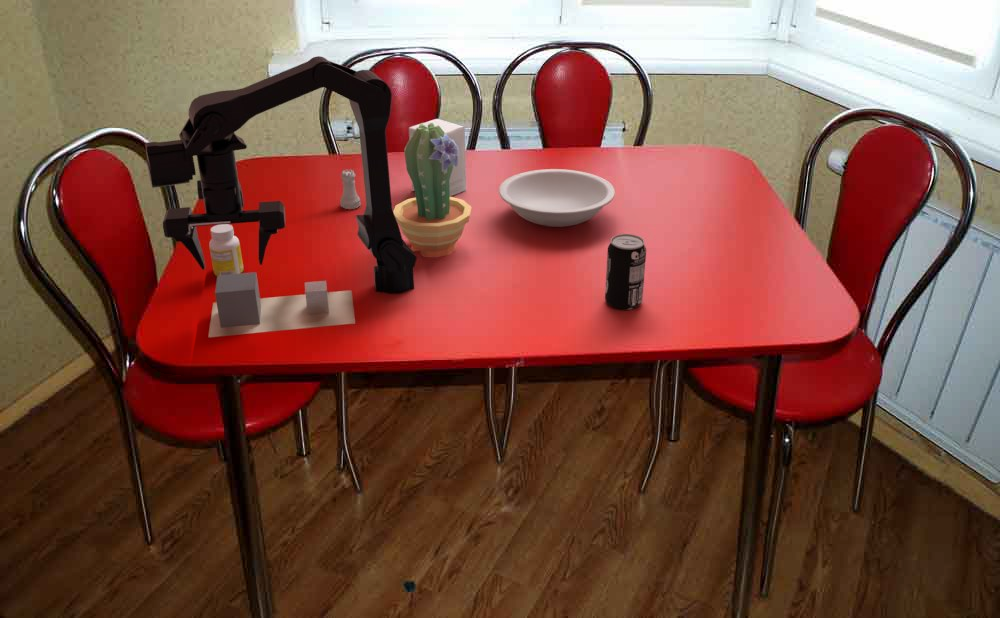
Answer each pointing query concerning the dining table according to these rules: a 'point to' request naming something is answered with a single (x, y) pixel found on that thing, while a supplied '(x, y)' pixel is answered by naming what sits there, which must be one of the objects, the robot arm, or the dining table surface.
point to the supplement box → (459, 172)
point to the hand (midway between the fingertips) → (232, 266)
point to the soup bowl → (556, 196)
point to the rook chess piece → (349, 191)
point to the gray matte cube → (238, 299)
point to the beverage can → (625, 271)
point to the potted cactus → (432, 194)
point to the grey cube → (316, 297)
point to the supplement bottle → (225, 251)
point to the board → (290, 315)
